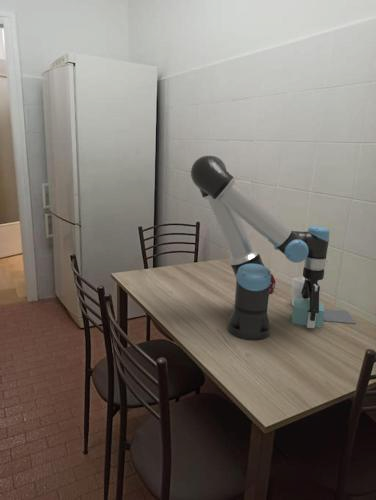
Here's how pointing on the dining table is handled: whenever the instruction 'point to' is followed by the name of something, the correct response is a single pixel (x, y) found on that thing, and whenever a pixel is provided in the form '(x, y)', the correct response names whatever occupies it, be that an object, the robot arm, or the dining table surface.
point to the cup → (297, 288)
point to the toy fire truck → (272, 284)
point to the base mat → (337, 316)
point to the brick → (306, 313)
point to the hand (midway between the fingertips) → (307, 320)
